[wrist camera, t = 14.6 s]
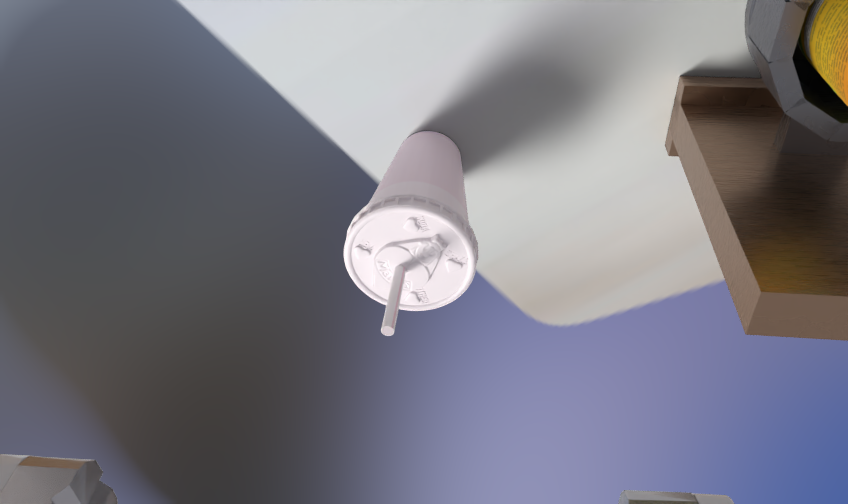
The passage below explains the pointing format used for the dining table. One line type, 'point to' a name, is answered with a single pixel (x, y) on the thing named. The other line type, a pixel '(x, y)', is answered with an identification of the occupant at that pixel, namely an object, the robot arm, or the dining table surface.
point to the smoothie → (415, 231)
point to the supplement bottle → (827, 42)
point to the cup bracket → (772, 179)
